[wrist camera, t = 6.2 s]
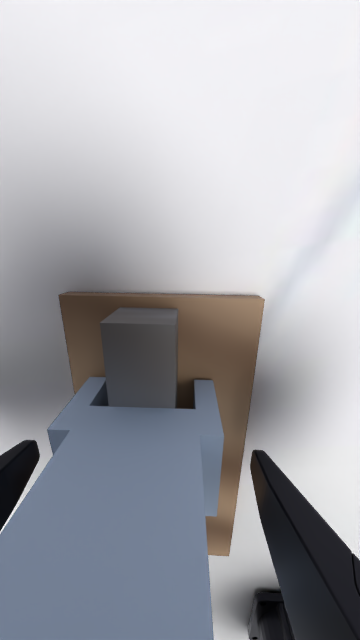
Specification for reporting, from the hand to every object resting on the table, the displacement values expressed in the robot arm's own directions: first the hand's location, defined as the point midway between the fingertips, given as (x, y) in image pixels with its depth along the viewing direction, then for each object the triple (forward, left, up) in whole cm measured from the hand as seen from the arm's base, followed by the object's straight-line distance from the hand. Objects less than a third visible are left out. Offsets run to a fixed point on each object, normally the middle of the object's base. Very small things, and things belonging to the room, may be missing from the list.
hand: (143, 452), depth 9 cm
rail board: (-3, 0, -3) cm, 4 cm away
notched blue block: (0, 0, -2) cm, 2 cm away
